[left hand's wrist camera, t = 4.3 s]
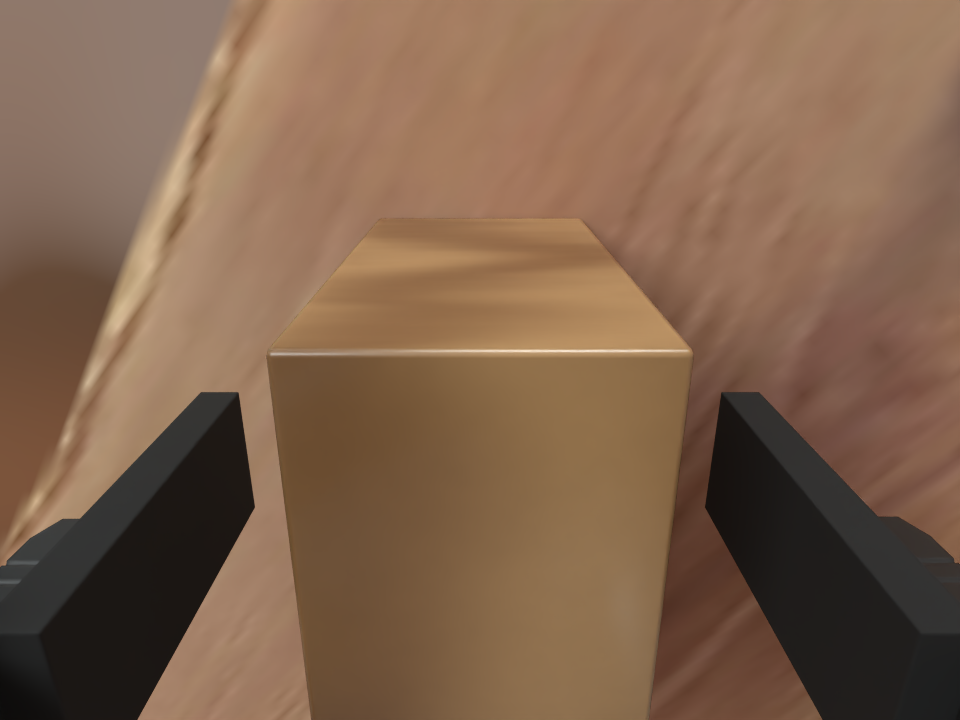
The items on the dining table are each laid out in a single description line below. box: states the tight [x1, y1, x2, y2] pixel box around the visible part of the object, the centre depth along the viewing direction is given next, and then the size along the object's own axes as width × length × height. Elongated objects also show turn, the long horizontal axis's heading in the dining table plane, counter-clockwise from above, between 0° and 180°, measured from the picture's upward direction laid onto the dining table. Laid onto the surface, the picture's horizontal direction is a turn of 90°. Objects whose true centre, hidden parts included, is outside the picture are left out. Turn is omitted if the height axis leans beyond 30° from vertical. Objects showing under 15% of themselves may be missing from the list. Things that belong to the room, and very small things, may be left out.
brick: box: [266, 219, 694, 720], centre depth 13 cm, size 5×8×9 cm, turn 0°
